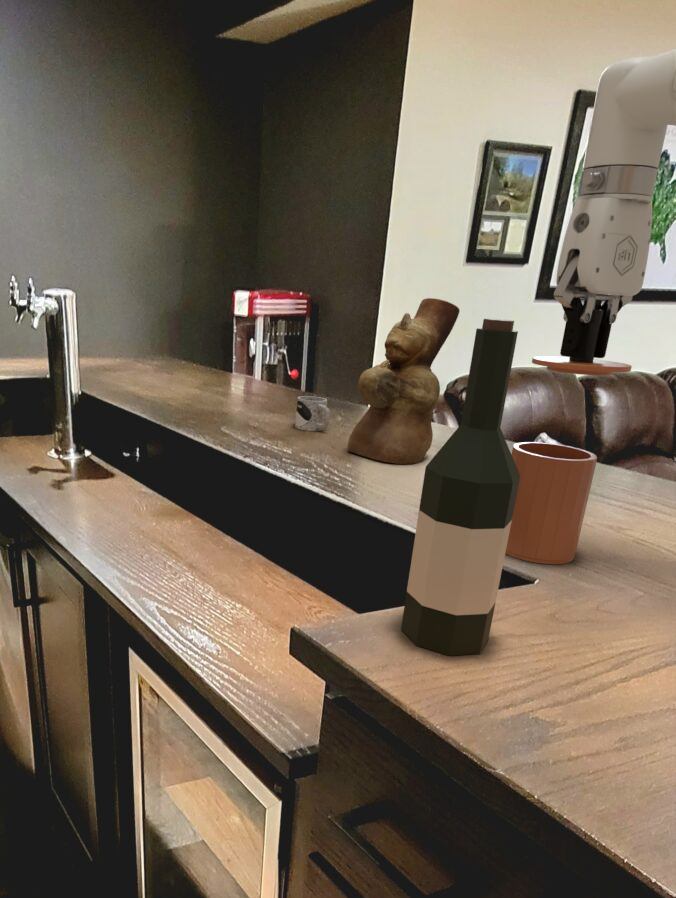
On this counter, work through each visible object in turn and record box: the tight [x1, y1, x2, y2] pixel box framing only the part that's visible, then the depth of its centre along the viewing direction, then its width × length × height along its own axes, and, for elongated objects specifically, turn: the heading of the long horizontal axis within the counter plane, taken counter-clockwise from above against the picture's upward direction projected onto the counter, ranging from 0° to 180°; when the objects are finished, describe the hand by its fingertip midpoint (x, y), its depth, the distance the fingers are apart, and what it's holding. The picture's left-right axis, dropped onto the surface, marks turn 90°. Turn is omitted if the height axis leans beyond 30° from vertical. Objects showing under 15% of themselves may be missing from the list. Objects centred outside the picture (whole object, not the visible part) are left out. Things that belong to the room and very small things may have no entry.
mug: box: [294, 395, 331, 432], centre depth 162 cm, size 10×7×7 cm
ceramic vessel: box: [347, 297, 461, 465], centre depth 140 cm, size 16×22×30 cm
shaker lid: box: [531, 309, 633, 377], centre depth 85 cm, size 11×11×7 cm
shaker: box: [505, 441, 598, 565], centre depth 93 cm, size 10×10×14 cm
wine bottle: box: [400, 318, 520, 657], centre depth 66 cm, size 8×8×30 cm
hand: (582, 355), depth 86 cm, fingers closed on shaker lid, 2 cm apart
